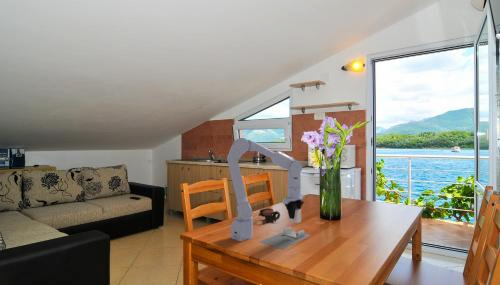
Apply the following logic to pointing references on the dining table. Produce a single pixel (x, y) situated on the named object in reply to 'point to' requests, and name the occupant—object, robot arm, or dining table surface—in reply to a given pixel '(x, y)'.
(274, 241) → the board
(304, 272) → the dining table surface
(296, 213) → the connector
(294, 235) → the end holder
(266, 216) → the pottery mug
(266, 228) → the dining table surface
